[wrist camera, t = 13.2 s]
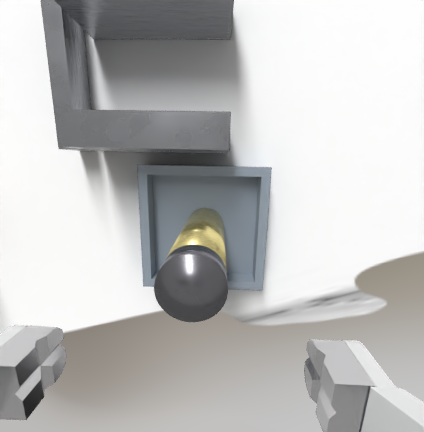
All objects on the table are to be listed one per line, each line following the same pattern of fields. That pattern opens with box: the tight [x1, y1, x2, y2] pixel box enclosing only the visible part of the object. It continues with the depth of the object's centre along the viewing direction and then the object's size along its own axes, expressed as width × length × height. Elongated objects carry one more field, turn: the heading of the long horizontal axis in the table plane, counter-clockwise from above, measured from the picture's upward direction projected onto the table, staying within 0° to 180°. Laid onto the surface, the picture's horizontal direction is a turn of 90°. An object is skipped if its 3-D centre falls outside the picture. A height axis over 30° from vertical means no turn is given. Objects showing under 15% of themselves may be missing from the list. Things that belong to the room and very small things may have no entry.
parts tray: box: [137, 165, 272, 290], centre depth 23 cm, size 12×12×2 cm
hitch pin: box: [154, 208, 228, 322], centre depth 17 cm, size 4×4×12 cm
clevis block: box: [41, 0, 234, 153], centre depth 18 cm, size 14×12×6 cm
